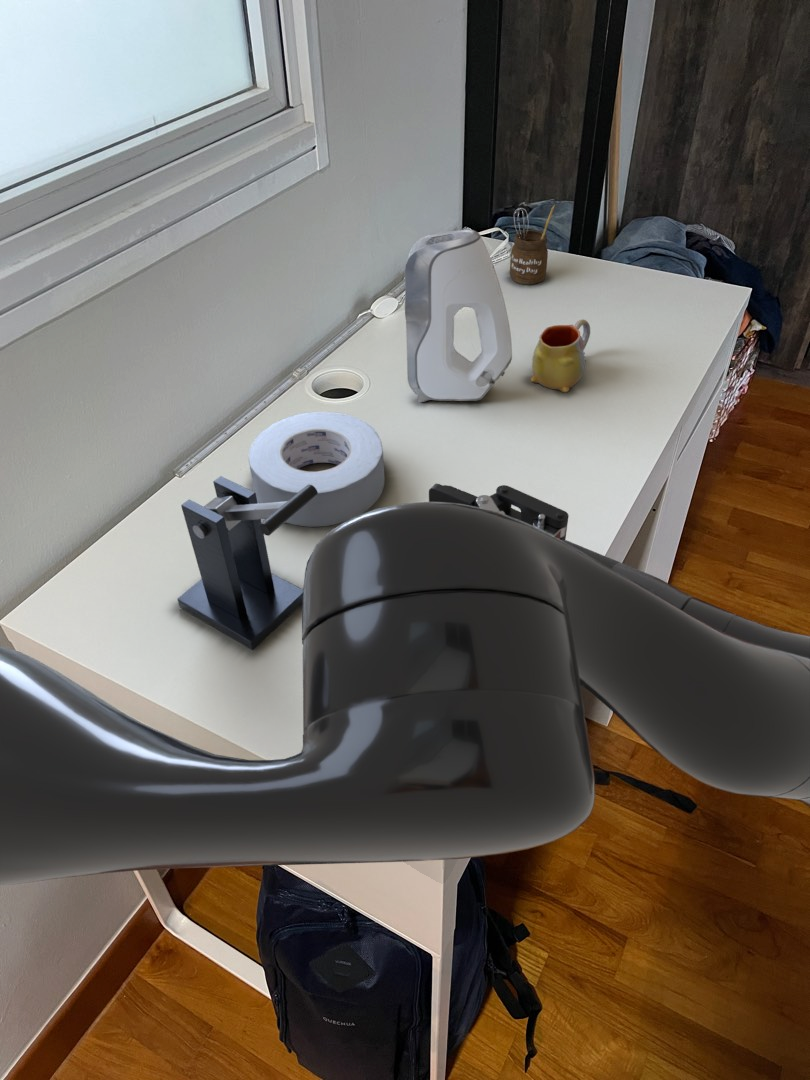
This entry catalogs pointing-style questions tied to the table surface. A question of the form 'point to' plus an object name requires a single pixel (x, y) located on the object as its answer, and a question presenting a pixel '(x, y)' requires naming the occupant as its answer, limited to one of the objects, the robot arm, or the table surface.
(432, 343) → the jug
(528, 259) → the utensil holder
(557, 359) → the mug
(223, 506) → the switch lever
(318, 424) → the tape roll
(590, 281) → the table surface
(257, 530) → the switch bracket
